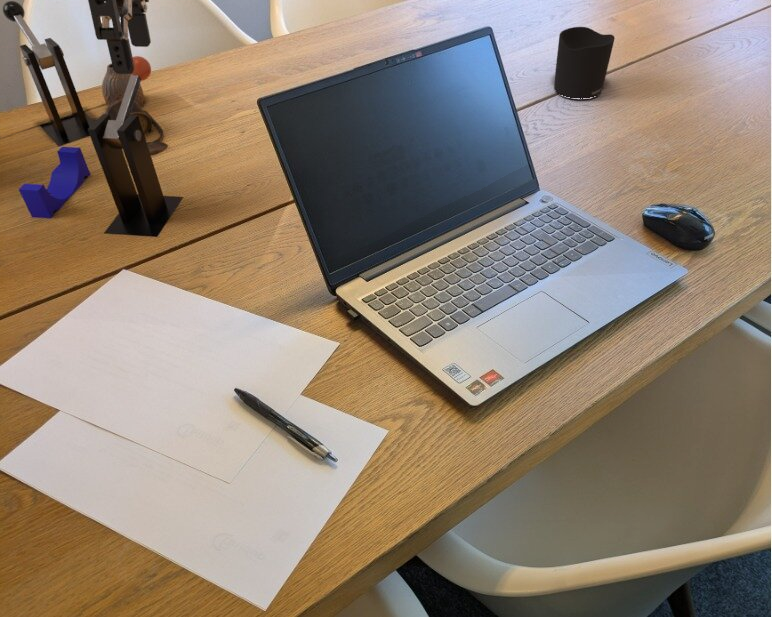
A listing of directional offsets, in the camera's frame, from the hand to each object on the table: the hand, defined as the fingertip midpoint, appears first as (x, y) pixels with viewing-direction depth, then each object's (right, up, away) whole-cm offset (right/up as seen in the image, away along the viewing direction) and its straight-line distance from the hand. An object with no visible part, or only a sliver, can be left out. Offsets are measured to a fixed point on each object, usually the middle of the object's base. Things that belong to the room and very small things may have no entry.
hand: (133, 58), depth 78 cm
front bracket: (-5, -17, +18) cm, 26 cm away
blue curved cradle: (-20, -13, +23) cm, 34 cm away
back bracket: (-25, +1, +39) cm, 47 cm away
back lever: (-29, +15, +32) cm, 46 cm away
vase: (-18, +7, +45) cm, 49 cm away
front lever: (-5, -2, +12) cm, 13 cm away
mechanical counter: (-13, -2, +35) cm, 37 cm away
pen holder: (+65, +11, +45) cm, 80 cm away
